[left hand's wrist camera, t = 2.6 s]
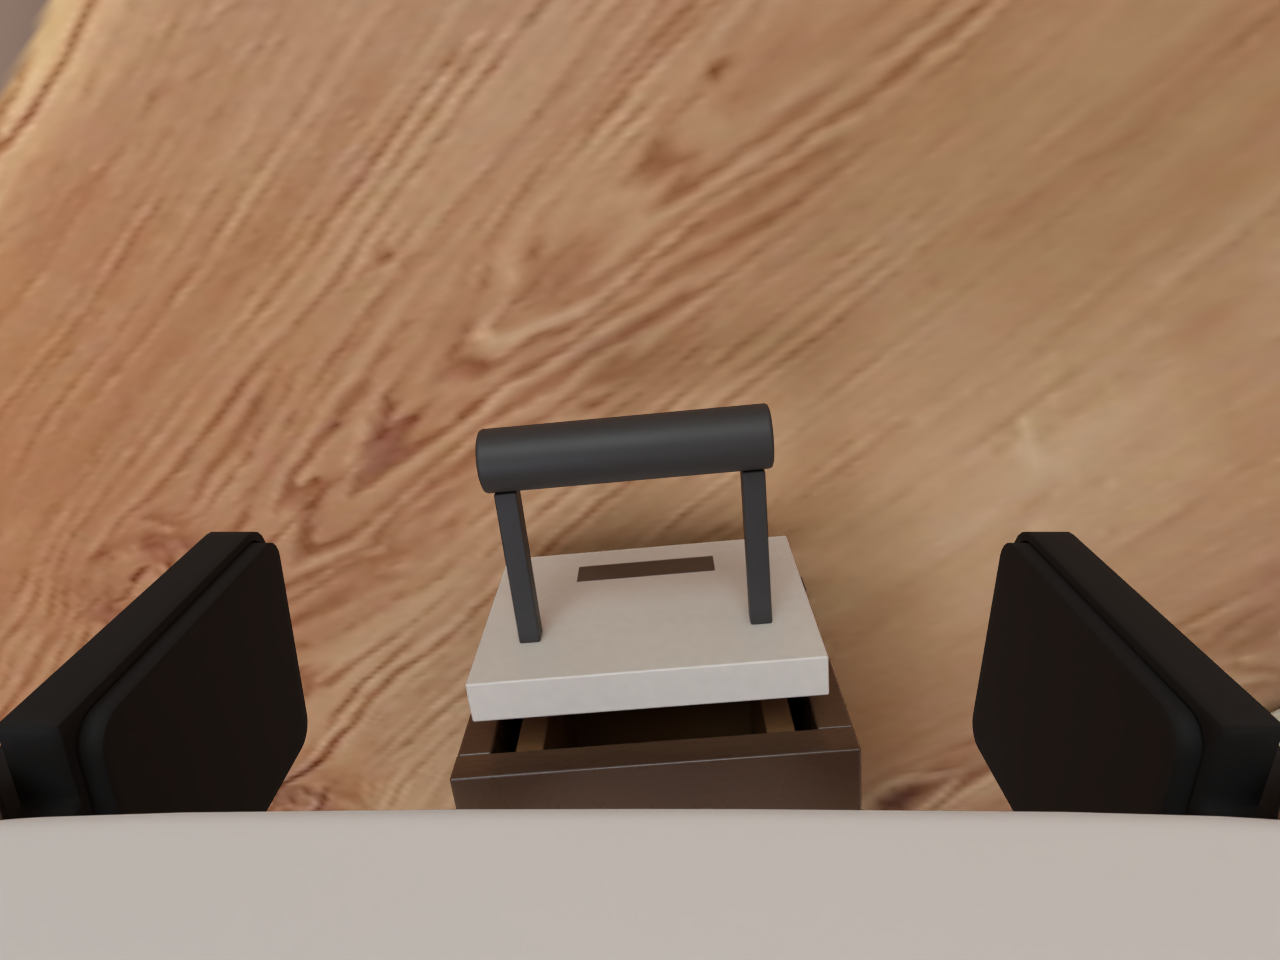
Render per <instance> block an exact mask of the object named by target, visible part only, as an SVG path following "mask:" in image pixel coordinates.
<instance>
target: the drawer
mask: <svg viewBox="0 0 1280 960" xmlns="http://www.w3.org/2000/svg"><path fill="white" fill-rule="evenodd" d="M773 463H774V437H773V427H772V419H771V414H770V410H769V407H768V405H767V404H764V403H763V404H752V405H741V406H730V407H719V408H708V409H698V410H687V411H676V412H665V413H654V414H643V415H632V416H621V417H610V418H599V419H589V420H578V421H567V422H556V423H545V424H534V425H523V426H512V427H501V428H490V429H482V430H480V431H479V432H478V435H477V439H476V466H477V472H478V477H479V481H480V484H481V486H482V488H483V490H484V491H485V492H487V493H495V494H494V498H495V504H496V510H497V515H498V521H499V527H500V533H501V539H502V544H503V550H504V556H505V562H506V566H505V569H504V572H503V575H502V578H501V581H500V584H499V587H498V590H497V593H496V596H495V599H494V602H493V605H492V608H491V611H490V614H489V617H488V620H487V623H486V626H485V629H484V632H483V635H482V638H481V641H480V644H479V647H478V649H477V652H476V655H475V658H474V661H473V664H472V667H471V670H470V673H469V676H468V679H467V682H466V685H465V686H466V691H467V696H468V701H469V705H470V710H471V715H472V720H473V721H474V722H476V721H490V720H503V719H516V718H523V720H522V725H521V729H520V734H519V739H518V743H517V748H516V752H520V751H534V750H547V749H560V748H574V747H587V746H601V745H614V744H627V743H641V742H654V741H667V740H681V739H694V738H708V737H721V736H734V735H748V734H761V733H775V732H788V731H795V727H794V723H793V719H792V715H791V711H790V707H789V703H788V699H787V698H790V697H803V696H816V695H828V694H829V662H828V655H827V652H826V649H825V646H824V643H823V640H822V637H821V635H820V632H819V629H818V626H817V623H816V620H815V617H814V614H813V612H812V609H811V606H810V603H809V600H808V597H807V594H806V591H805V589H804V586H803V583H802V580H801V577H800V574H799V571H798V569H797V566H796V563H795V560H794V557H793V554H792V551H791V548H790V546H789V543H788V540H787V537H786V536H775V537H768V522H767V501H766V481H765V470H764V469H769V468H771V467H772V466H773ZM735 471H740V475H741V492H742V509H743V525H744V539H740V540H728V541H716V542H704V543H693V544H681V545H669V546H657V547H645V548H634V549H622V550H610V551H598V552H586V553H575V554H563V555H551V556H539V557H531V556H530V550H529V544H528V537H527V531H526V525H525V519H524V513H523V506H522V500H521V494H520V490H531V489H543V488H554V487H565V486H577V485H588V484H599V483H611V482H622V481H633V480H645V479H656V478H667V477H678V476H690V475H701V474H712V473H724V472H735Z"/></svg>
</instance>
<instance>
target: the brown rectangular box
mask: <svg viewBox="0 0 1280 960" xmlns="http://www.w3.org/2000/svg"><path fill="white" fill-rule="evenodd" d="M801 580H802V578H801ZM802 583H803V580H802ZM803 586H804V583H803ZM804 589H805V586H804ZM805 591H806V589H805ZM808 600H809V599H808ZM809 603H810V602H809ZM810 606H811V605H810ZM811 609H812V608H811ZM812 612H813V611H812ZM816 623H817V622H816ZM817 626H818V625H817ZM818 629H819V628H818ZM819 632H820V631H819ZM820 635H821V634H820ZM823 643H824V642H823ZM824 646H825V645H824ZM825 649H826V648H825ZM826 652H827V651H826ZM827 655H828V654H827ZM828 662H829V694H828V695H816V696H803V697H790V698H787V699H788V703H789V707H790V711H791V715H792V719H793V723H794V727H795V731H788V732H775V733H761V734H748V735H734V736H721V737H708V738H694V739H681V740H667V741H654V742H641V743H627V744H614V745H601V746H587V747H574V748H560V749H547V750H534V751H520V752H516V748H517V743H518V739H519V734H520V729H521V725H522V720H523V718H516V719H503V720H490V721H476V722H474V721H473V720H472V715H470V718H469V721H468V724H467V727H466V731H465V734H464V737H463V740H462V744H461V747H460V750H459V753H458V757H457V758H456V762H455V765H454V768H453V771H452V774H451V778H450V782H451V787H452V791H453V796H454V800H455V805H456V809H457V810H460V809H786V810H861V748H860V746H859V743H858V740H857V737H856V734H855V731H854V729H853V726H852V723H851V720H850V717H849V714H848V711H847V708H846V705H845V703H844V700H843V697H842V694H841V691H840V688H839V685H838V683H837V680H836V677H835V674H834V671H833V668H832V665H831V663H830V660H829V657H828Z"/></svg>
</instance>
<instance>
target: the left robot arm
mask: <svg viewBox="0 0 1280 960" xmlns="http://www.w3.org/2000/svg"><path fill="white" fill-rule="evenodd" d="M306 733H307V713H306V707H305V701H304V695H303V689H302V683H301V677H300V672H299V666H298V660H297V654H296V648H295V642H294V636H293V630H292V624H291V619H290V613H289V607H288V601H287V595H286V589H285V583H284V577H283V572H282V566H281V560H280V555H279V551H278V549H277V547H276V545H274V544H273V543H265V541H264V539H263V537H262V535H260V534H259V533H258V532H211V533H209V534H207V535H206V536H205V537H204V538H202V539H201V540H200V541H199V542H198V543H197V544H196V545H195V546H194V547H192V548H191V549H190V550H189V551H188V552H187V553H186V554H185V555H184V556H183V557H181V558H180V559H179V560H178V561H177V562H176V563H175V564H174V565H173V566H172V567H170V568H169V569H168V570H167V571H166V572H165V573H164V574H163V575H162V576H160V577H159V578H158V579H157V580H156V581H155V582H154V583H153V584H152V585H151V586H149V587H148V588H147V589H146V590H145V591H144V592H143V593H142V594H141V595H140V596H138V597H137V598H136V599H135V600H134V601H133V602H132V603H131V604H130V605H128V606H127V607H126V608H125V609H124V610H123V611H122V612H121V613H120V614H119V615H117V616H116V617H115V618H114V619H113V620H112V621H111V622H110V623H109V624H107V625H106V626H105V627H104V628H103V629H102V630H101V631H100V632H99V633H98V634H96V635H95V636H94V637H93V638H92V639H91V640H90V641H89V642H88V643H87V644H85V645H84V646H83V647H82V648H81V649H80V650H79V651H78V652H77V653H75V654H74V655H73V656H72V657H71V658H70V659H69V660H68V661H67V662H66V663H64V664H63V665H62V666H61V667H60V668H59V669H58V670H57V671H56V672H55V673H53V674H52V675H51V676H50V677H49V678H48V679H47V680H46V681H45V682H43V683H42V684H41V685H40V686H39V687H38V688H37V689H36V690H35V691H34V692H32V693H31V694H30V695H29V696H28V697H27V698H26V699H25V700H24V701H23V702H21V703H20V704H19V705H18V706H17V707H16V708H15V709H14V710H13V711H11V712H10V713H9V714H8V715H7V716H6V717H5V718H4V719H3V720H2V721H0V743H1V746H0V960H1280V746H1279V743H1280V721H1278V720H1277V719H1276V718H1275V717H1274V716H1273V715H1272V714H1271V713H1270V712H1269V711H1267V710H1266V709H1265V708H1264V707H1263V706H1262V705H1261V704H1260V703H1259V702H1257V701H1256V700H1255V699H1254V698H1253V697H1252V696H1251V695H1250V694H1249V693H1248V692H1246V691H1245V690H1244V689H1243V688H1242V687H1241V686H1240V685H1239V684H1238V683H1237V682H1235V681H1234V680H1233V679H1232V678H1231V677H1230V676H1229V675H1228V674H1227V673H1225V672H1224V671H1223V670H1222V669H1221V668H1220V667H1219V666H1218V665H1217V664H1216V663H1214V662H1213V661H1212V660H1211V659H1210V658H1209V657H1208V656H1207V655H1206V654H1205V653H1203V652H1202V651H1201V650H1200V649H1199V648H1198V647H1197V646H1196V645H1195V644H1193V643H1192V642H1191V641H1190V640H1189V639H1188V638H1187V637H1186V636H1185V635H1184V634H1182V633H1181V632H1180V631H1179V630H1178V629H1177V628H1176V627H1175V626H1174V625H1173V624H1171V623H1170V622H1169V621H1168V620H1167V619H1166V618H1165V617H1164V616H1163V615H1161V614H1160V613H1159V612H1158V611H1157V610H1156V609H1155V608H1154V607H1153V606H1152V605H1150V604H1149V603H1148V602H1147V601H1146V600H1145V599H1144V598H1143V597H1142V596H1140V595H1139V594H1138V593H1137V592H1136V591H1135V590H1134V589H1133V588H1132V587H1131V586H1129V585H1128V584H1127V583H1126V582H1125V581H1124V580H1123V579H1122V578H1121V577H1120V576H1118V575H1117V574H1116V573H1115V572H1114V571H1113V570H1112V569H1111V568H1110V567H1108V566H1107V565H1106V564H1105V563H1104V562H1103V561H1102V560H1101V559H1100V558H1099V557H1097V556H1096V555H1095V554H1094V553H1093V552H1092V551H1091V550H1090V549H1089V548H1088V547H1086V546H1085V545H1084V544H1083V543H1082V542H1081V541H1080V540H1079V539H1078V538H1076V537H1075V536H1074V535H1073V534H1071V533H1069V532H1022V533H1021V534H1020V535H1018V537H1017V539H1016V541H1015V543H1007V544H1006V545H1004V547H1003V549H1002V551H1001V555H1000V560H999V566H998V572H997V577H996V583H995V589H994V595H993V601H992V607H991V613H990V619H989V624H988V630H987V636H986V642H985V648H984V654H983V660H982V666H981V672H980V677H979V683H978V689H977V695H976V701H975V707H974V713H973V733H974V738H975V742H976V744H977V746H978V749H979V750H980V752H981V754H982V756H983V757H984V759H985V761H986V763H987V765H988V766H989V768H990V770H991V772H992V774H993V775H994V777H995V779H996V781H997V783H998V784H999V786H1000V788H1001V790H1002V792H1003V793H1004V795H1005V797H1006V799H1007V800H1008V802H1009V804H1010V806H1011V808H1012V809H1013V811H900V810H786V809H460V810H370V811H279V812H266V811H267V809H268V808H269V806H270V804H271V802H272V800H273V799H274V797H275V795H276V793H277V792H278V790H279V788H280V786H281V784H282V783H283V781H284V779H285V777H286V775H287V774H288V772H289V770H290V768H291V766H292V765H293V763H294V761H295V759H296V757H297V756H298V754H299V752H300V750H301V749H302V746H303V744H304V742H305V738H306Z"/></svg>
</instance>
